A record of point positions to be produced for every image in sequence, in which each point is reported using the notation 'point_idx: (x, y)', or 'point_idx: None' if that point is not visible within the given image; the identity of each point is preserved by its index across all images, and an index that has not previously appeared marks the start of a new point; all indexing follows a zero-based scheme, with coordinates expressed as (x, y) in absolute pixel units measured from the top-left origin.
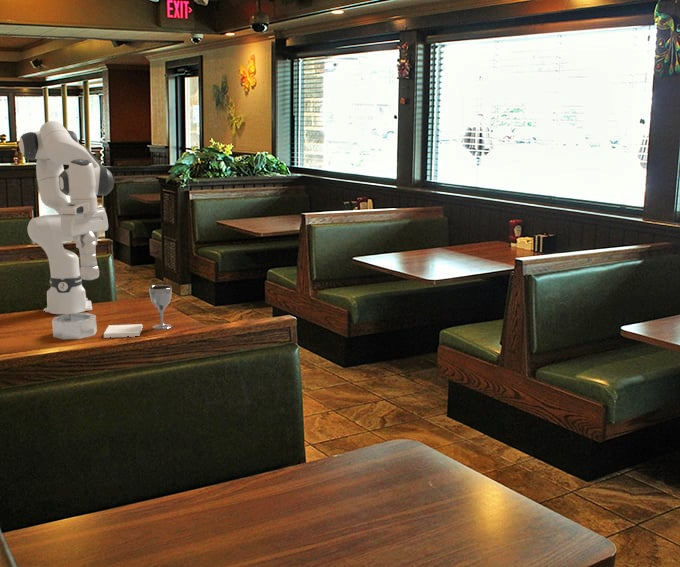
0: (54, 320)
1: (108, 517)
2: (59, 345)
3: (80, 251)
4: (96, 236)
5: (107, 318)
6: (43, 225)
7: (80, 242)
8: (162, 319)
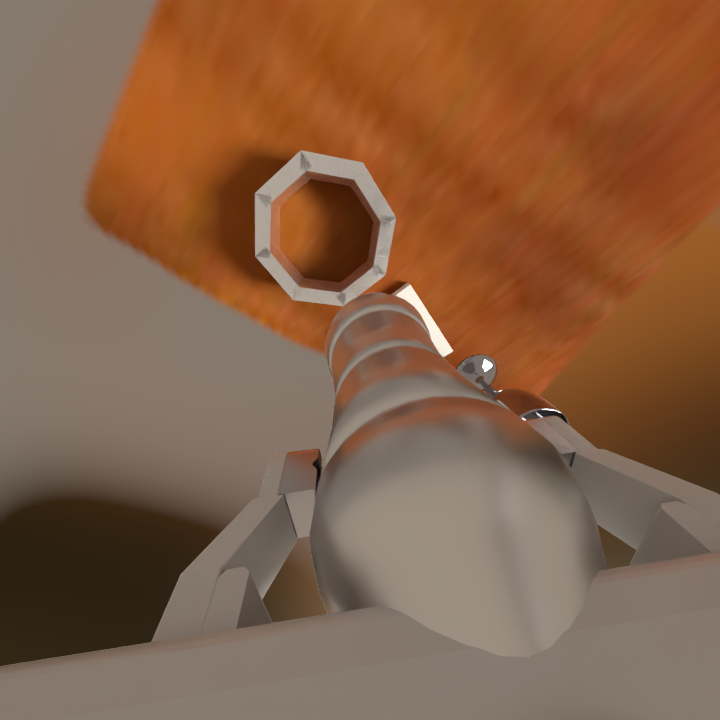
0: (259, 204)
1: None
2: (225, 292)
3: (333, 413)
4: (623, 530)
5: (517, 168)
6: None
7: (283, 549)
8: (482, 386)
